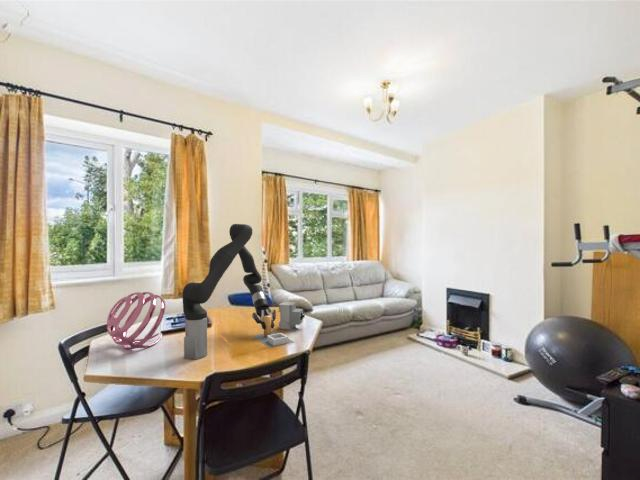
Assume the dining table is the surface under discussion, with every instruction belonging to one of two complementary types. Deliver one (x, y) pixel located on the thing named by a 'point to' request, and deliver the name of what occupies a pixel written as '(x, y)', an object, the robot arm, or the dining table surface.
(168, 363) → the dining table surface
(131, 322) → the spiral basket
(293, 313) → the circuit breaker
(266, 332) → the wooden peg
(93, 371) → the dining table surface
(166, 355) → the dining table surface
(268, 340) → the lockout board
